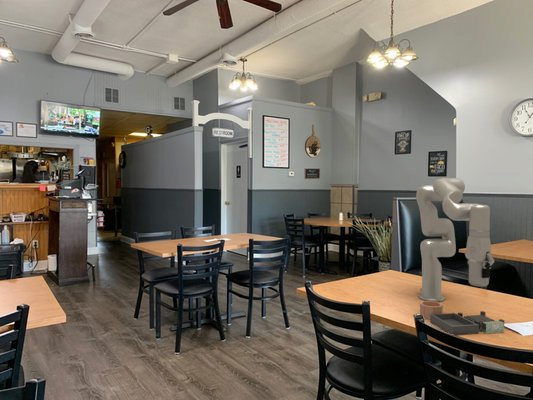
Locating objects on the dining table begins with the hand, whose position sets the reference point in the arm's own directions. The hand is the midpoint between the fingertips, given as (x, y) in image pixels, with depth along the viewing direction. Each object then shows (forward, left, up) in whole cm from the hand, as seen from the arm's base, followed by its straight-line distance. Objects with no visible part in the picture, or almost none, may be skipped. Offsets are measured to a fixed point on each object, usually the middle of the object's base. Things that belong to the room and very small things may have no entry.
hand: (478, 275), depth 167 cm
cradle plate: (0, +1, -21) cm, 21 cm away
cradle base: (+1, +1, -22) cm, 22 cm away
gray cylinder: (0, 0, -4) cm, 4 cm away
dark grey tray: (0, -12, -22) cm, 25 cm away
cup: (-14, -13, -22) cm, 29 cm away
